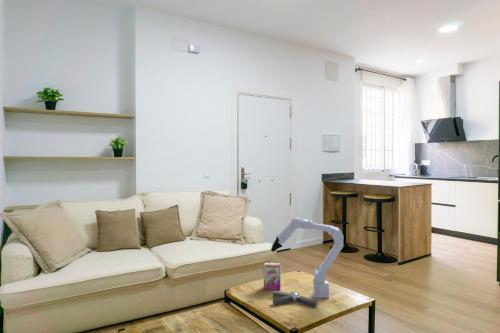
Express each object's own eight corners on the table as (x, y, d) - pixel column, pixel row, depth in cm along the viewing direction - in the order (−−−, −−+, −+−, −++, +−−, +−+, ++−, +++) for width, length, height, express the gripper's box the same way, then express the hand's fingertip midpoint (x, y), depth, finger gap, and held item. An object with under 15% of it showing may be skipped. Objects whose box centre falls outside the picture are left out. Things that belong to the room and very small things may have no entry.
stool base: (316, 299, 199) (316, 292, 199) (317, 307, 189) (317, 300, 188) (274, 297, 203) (273, 290, 203) (272, 305, 193) (272, 298, 192)
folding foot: (291, 298, 201) (291, 293, 201) (289, 299, 199) (289, 295, 199) (274, 294, 207) (274, 290, 207) (272, 296, 204) (272, 292, 204)
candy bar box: (263, 289, 217) (263, 264, 216) (264, 286, 221) (264, 262, 221) (280, 290, 214) (280, 265, 214) (281, 287, 219) (280, 262, 219)
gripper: (282, 226, 214) (268, 242, 215) (281, 231, 199) (266, 247, 200) (290, 234, 213) (276, 249, 214) (290, 239, 198) (275, 255, 200)
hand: (272, 249), depth 207 cm, fingers open, 7 cm apart
